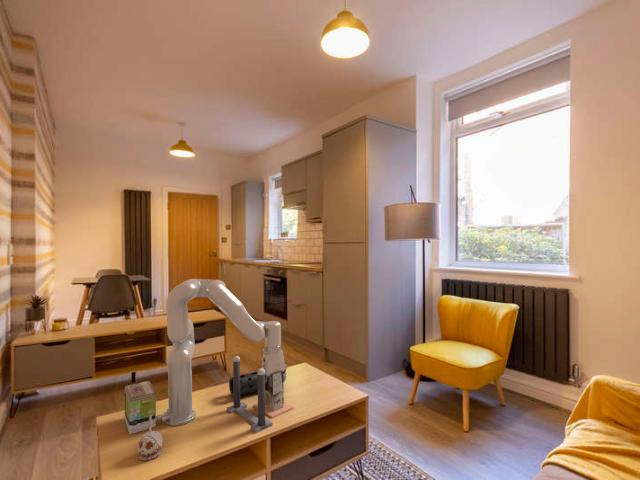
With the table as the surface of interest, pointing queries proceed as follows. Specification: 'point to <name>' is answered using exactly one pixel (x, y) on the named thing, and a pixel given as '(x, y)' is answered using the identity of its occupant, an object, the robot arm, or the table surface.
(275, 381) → the coffee box
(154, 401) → the tea box
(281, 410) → the terracotta tile
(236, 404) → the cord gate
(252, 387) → the muzzle brake
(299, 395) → the table surface
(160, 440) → the decorative ornament
